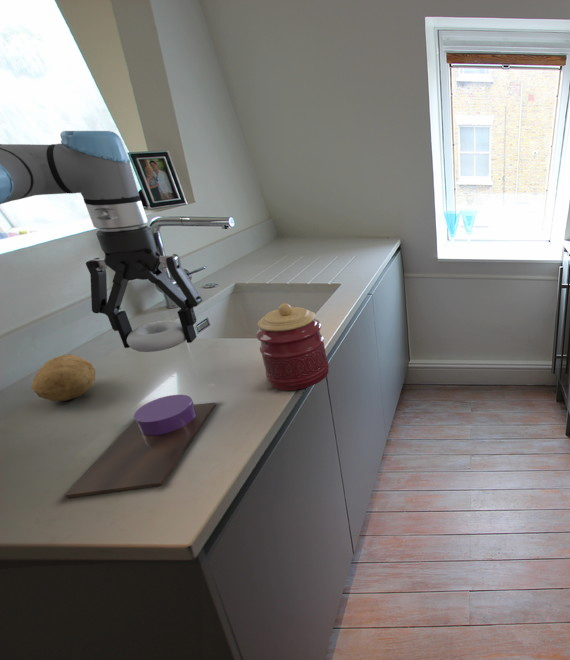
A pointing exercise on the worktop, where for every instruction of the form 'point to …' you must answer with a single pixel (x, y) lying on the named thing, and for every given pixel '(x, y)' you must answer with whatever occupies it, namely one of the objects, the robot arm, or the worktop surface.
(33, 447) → the worktop surface
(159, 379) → the worktop surface
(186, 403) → the purple hockey puck
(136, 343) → the donut
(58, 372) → the potato
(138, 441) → the placemat
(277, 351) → the kitchen canister
